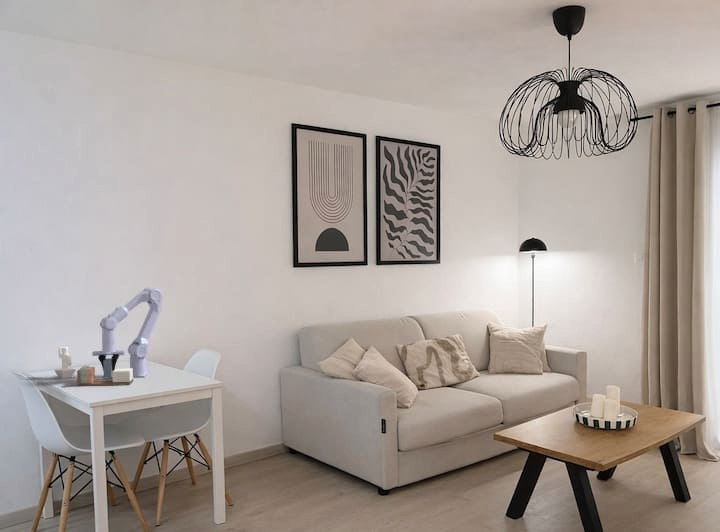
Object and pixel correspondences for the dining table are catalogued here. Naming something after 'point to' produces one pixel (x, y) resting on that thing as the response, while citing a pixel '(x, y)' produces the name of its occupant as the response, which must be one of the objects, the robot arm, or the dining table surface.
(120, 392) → the dining table surface
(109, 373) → the tall grey-blue block
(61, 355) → the figurine
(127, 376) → the bookend
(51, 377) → the dining table surface
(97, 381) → the rack
